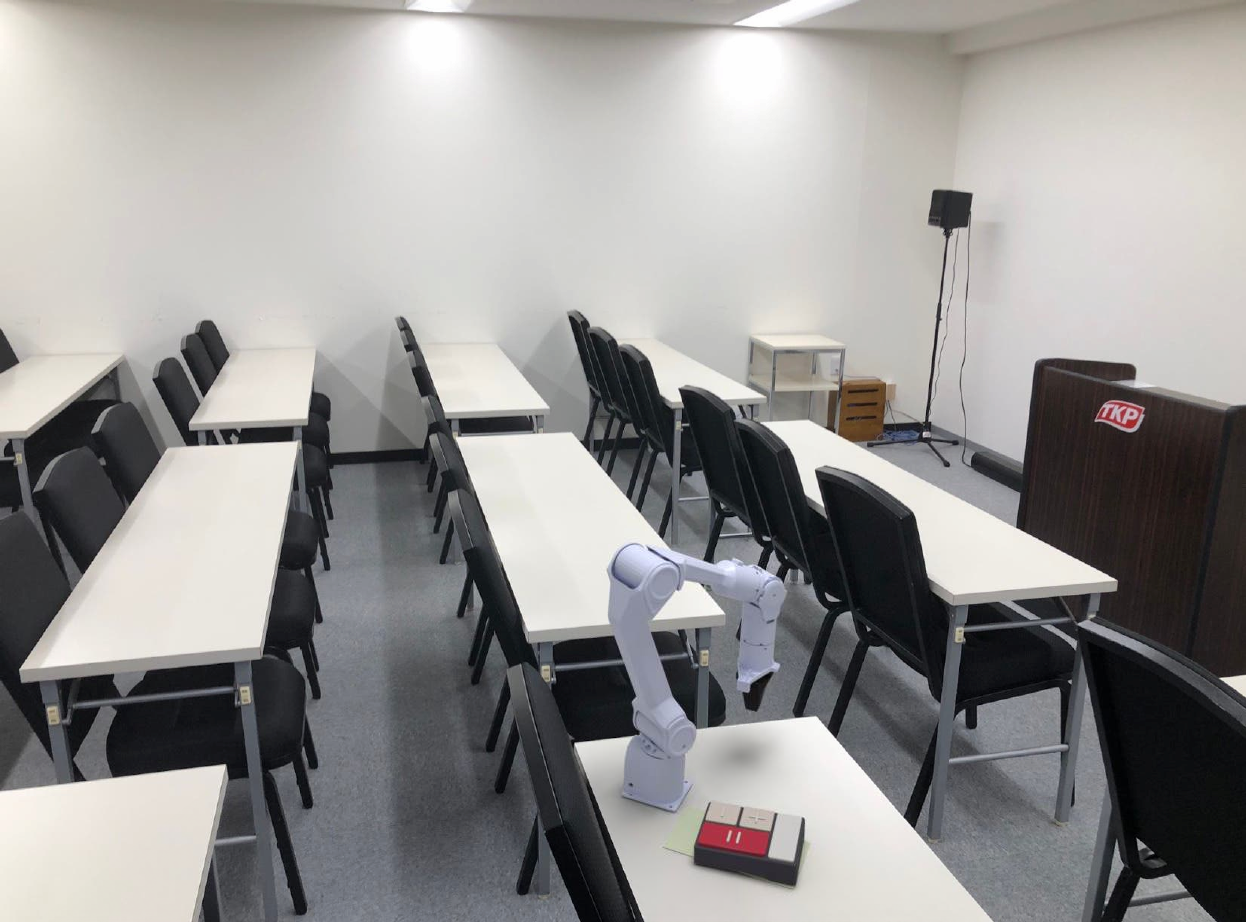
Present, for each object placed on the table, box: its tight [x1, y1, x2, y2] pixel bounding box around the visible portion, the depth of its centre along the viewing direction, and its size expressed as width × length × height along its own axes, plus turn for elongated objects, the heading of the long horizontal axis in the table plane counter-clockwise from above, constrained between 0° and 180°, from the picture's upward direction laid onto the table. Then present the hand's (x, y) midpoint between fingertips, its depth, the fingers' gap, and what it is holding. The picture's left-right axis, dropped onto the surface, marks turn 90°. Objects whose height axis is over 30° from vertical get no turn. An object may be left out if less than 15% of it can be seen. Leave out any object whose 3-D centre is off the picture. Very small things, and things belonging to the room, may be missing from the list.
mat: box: [662, 805, 811, 890], centre depth 143 cm, size 20×10×1 cm, turn 66°
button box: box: [693, 800, 806, 886], centre depth 141 cm, size 11×4×15 cm
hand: (752, 708), depth 162 cm, fingers closed
